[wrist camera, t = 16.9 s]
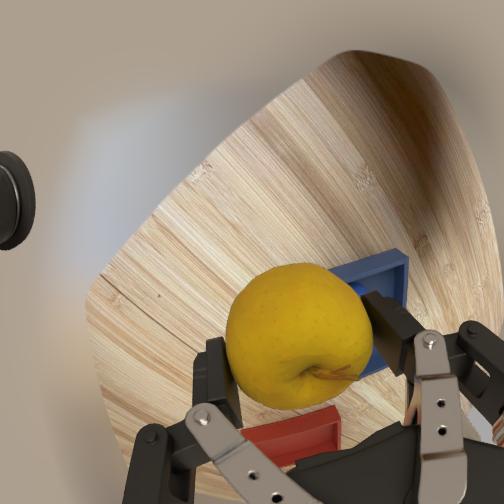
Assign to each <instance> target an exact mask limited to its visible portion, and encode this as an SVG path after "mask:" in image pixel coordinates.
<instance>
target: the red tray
mask: <svg viewBox="0 0 504 504" xmlns="http://www.w3.org/2000/svg"><path fill="white" fill-rule="evenodd" d="M241 434H242V435H243V436H244V437H245V438H246V439H249V440H250V441H251V442H252V443H253V444H254V445H255V446H256V447H257V448H258V449H259V450H260V451H261V452H262V453H264V454H265V455H266V456H267V457H268V458H269V459H270V460H271V461H272V462H273V463H274V464H275V465H276V466H277V467H278V468H282V467H287V466H291V465H295V460H298V459H302V458H305V457H309V456H312V455H315V454H319V453H322V452H330V451H338V450H340V449H341V418H340V416H339V413H338V411H337V409H336V406H335V405H333V406H330V407H327V408H324V409H321V410H318V411H315V412H312V413H309V414H305V415H302V416H298V417H295V418H291V419H287V420H284V421H280V422H276V423H271V424H267V425H263V426H258V427H254V428H249V429H244V430H241Z"/></svg>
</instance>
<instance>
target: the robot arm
mask: <svg viewBox="0 0 504 504" xmlns="http://www.w3.org/2000/svg"><path fill="white" fill-rule="evenodd" d="M21 212H22V202H21V194H20V190H19V186H18V183H17V180H16V178H15V176H14V175H13V173H12V172H11V170H10V169H9V168H8V167H7V166H5V165H3V164H1V163H0V244H1V243H3V242H5V241H7V240H8V239H10V238H11V237H12V236H13V235H14V234H15V233H16V231H17V229H18V227H19V224H20V220H21ZM360 299H361V301H362V303H363V306H364V308H365V310H366V312H367V315H368V317H369V320H370V322H371V326H372V333H373V345H374V346H375V347H376V349H377V350H378V352H379V353H380V355H381V356H382V357H383V359H384V360H385V362H386V363H387V364H388V366H389V367H390V369H391V370H392V372H393V373H394V375H395V376H396V377H397V376H399V375H401V374H403V373H404V374H405V376H406V382H405V418H404V423H403V426H402V425H401V423H400V421H398V422H396V423H394V424H392V425H389V426H387V427H385V428H383V429H381V430H379V431H376V432H375V433H373V434H372V435H371V436H369V437H368V438H366V439H365V440H364V441H362V442H361V443H359V444H358V445H356V446H355V447H353V448H351V449H345V450H338V451H330V452H322V453H319V454H315V455H312V456H309V457H305V458H302V459H298V460H295V464H296V467H294V468H292V469H290V470H289V471H287V472H286V473H284V472H283V471H282V470H281V469H280V468H278V467H277V466H276V465H275V464H274V463H273V462H272V461H271V460H270V459H269V458H268V457H267V456H266V455H265V454H264V453H262V452H261V451H260V450H259V449H258V448H257V447H256V446H255V445H254V444H253V443H252V442H251V441H250V440H249V439H246V438H245V437H244V436H243V435H242V434H241V433H240V432H239V431H238V430H237V429H239V428H243V423H242V416H241V409H240V402H239V394H238V387H237V382H236V381H235V379H234V377H233V375H232V373H231V369H230V365H229V362H228V358H227V354H226V343H225V341H224V338H223V337H222V336H221V337H217V338H213V339H208V340H206V352H201V353H198V354H197V356H196V358H195V360H194V363H193V372H194V373H193V398H192V408H191V409H190V410H189V411H188V412H187V414H186V416H185V419H184V420H182V421H181V422H179V423H177V424H174V425H172V426H169V427H167V428H165V427H164V426H162V425H160V424H155V423H154V424H148V425H146V426H144V427H143V428H142V429H141V430H140V431H139V432H138V434H137V436H136V440H135V444H134V448H133V453H132V457H131V462H130V466H129V471H128V476H127V481H126V486H125V491H124V497H123V502H122V504H194V491H195V476H196V467H198V466H200V465H202V464H205V463H207V462H209V461H212V462H213V464H214V465H215V467H216V468H217V469H218V470H219V472H220V473H221V474H222V475H223V476H224V478H225V479H226V480H227V481H228V482H229V484H230V485H231V486H232V487H233V488H234V489H235V490H236V492H237V493H238V494H239V495H240V496H241V497H242V498H243V499H244V500H245V501H246V502H247V503H248V504H504V341H503V340H501V339H500V338H499V337H498V336H496V335H495V334H494V333H493V332H491V331H490V330H489V329H488V328H486V327H485V326H484V325H482V324H481V323H479V322H477V321H472V320H470V321H466V322H464V323H462V324H461V325H460V327H459V331H458V332H457V333H453V334H448V335H442V334H441V333H439V332H438V331H435V330H426V329H425V328H424V327H423V326H422V325H421V324H420V323H419V322H418V321H417V320H416V319H415V318H414V317H413V316H412V315H411V314H410V313H408V311H407V310H406V309H405V308H403V306H402V305H401V304H400V303H399V302H398V301H397V300H395V299H393V298H391V297H388V296H387V297H383V296H382V295H381V294H380V293H379V292H378V291H377V290H373V291H370V292H367V293H365V294H362V295H361V296H360ZM476 361H477V362H478V363H479V364H480V365H481V366H482V367H483V368H484V369H485V370H486V371H487V372H488V373H489V374H490V377H489V376H488V375H487V374H486V373H485V372H484V371H482V370H481V369H480V368H479V367H478V366H477V365H476V364H475V363H476ZM459 391H460V392H461V393H462V394H463V395H464V396H465V397H466V398H467V399H468V400H469V401H470V402H471V403H472V404H473V405H474V407H475V408H476V409H477V410H478V411H479V412H480V413H481V414H482V415H483V416H484V417H485V418H486V420H487V421H488V422H489V423H490V424H491V425H492V426H493V438H492V439H493V442H494V443H496V444H497V445H492V444H488V443H484V442H480V441H476V440H472V439H469V438H465V437H463V425H462V413H461V403H460V395H459Z"/></svg>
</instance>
